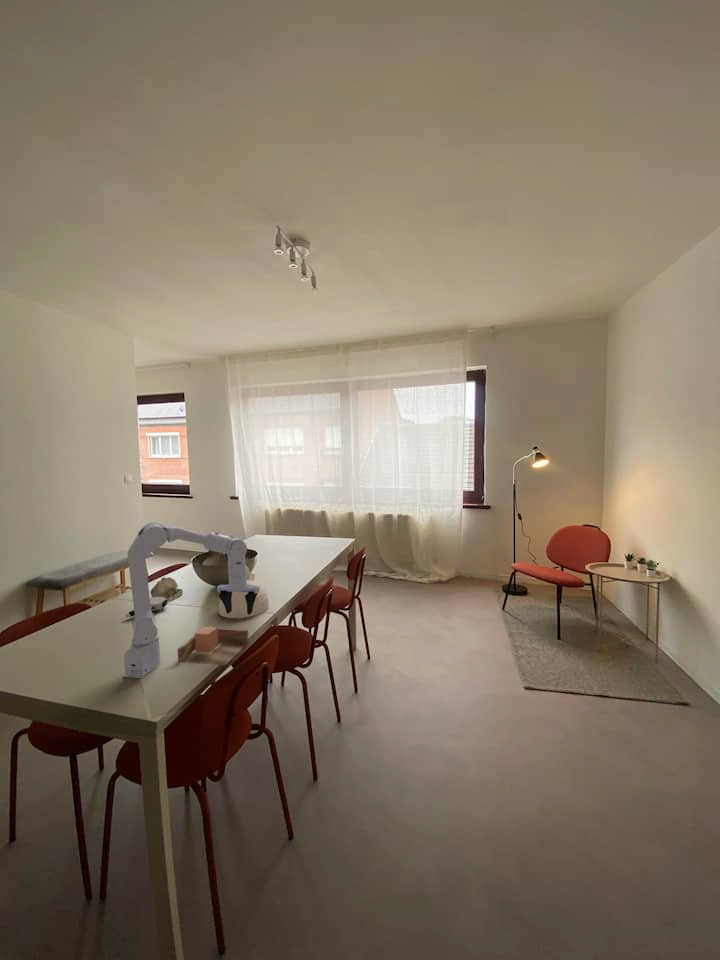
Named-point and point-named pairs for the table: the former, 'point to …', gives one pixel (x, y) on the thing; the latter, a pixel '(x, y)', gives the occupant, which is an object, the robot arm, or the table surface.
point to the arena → (220, 655)
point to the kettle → (240, 602)
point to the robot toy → (153, 605)
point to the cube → (206, 639)
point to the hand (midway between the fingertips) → (239, 612)
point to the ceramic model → (166, 589)
